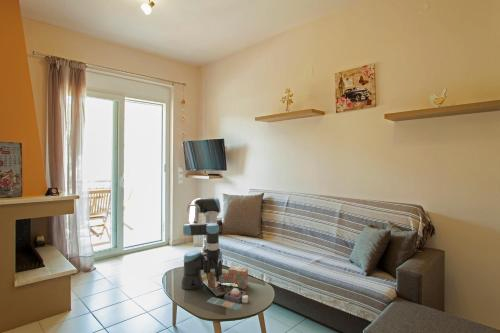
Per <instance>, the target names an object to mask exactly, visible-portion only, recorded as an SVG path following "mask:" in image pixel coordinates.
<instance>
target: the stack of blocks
mask: <svg viewBox="0 0 500 333" xmlns="http://www.w3.org/2000/svg"><path fill="white" fill-rule="evenodd" d="M248 275H249V270H248V268H246V267H240V266H232V265H231V266H230V267H229V268H228V269H224V268H222V275H221V276H219V281H218V282H220V283H235V284H237V285H238V287H240V288H239V289H241V288H242V290H245V289H246V288H247V287H248V279H249V278H248V277H249V276H248Z"/></svg>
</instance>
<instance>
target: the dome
mask: <svg viewBox="0 0 500 333" xmlns="http://www.w3.org/2000/svg"><path fill="white" fill-rule="evenodd" d="M232 289H233V290H232ZM232 289H231V290H232V291H230V290H229V291H230V296H234V297H239V296H240V295H241V292H240V291H241V290H240V289H239V288H235V287H233V288H232ZM239 290H240V291H239Z"/></svg>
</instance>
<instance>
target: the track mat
mask: <svg viewBox="0 0 500 333" xmlns="http://www.w3.org/2000/svg"><path fill="white" fill-rule="evenodd" d="M206 303H209V304H212V305H216V306H220V307H224V308H227V309H230V310H235V311H239V309H241V307H242V306H243V304H241V303H236V302H232V301H228V300H225V299H221V298H218V297H214V296H212V297H210V298H209V299H208V300H206Z"/></svg>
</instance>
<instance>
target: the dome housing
mask: <svg viewBox="0 0 500 333" xmlns="http://www.w3.org/2000/svg"><path fill="white" fill-rule="evenodd" d="M233 289H234V288H231V289H230V290H229V291H228V292H227V293H225V294H224V300H226V301H230V302H234V303H238V304H240V303H241V302H242V297H243V295H247V291H244V290H240V289H238V290H239V291H240V292H241V295H240V296H239V297H234V296H230V291H232V290H233Z"/></svg>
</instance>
